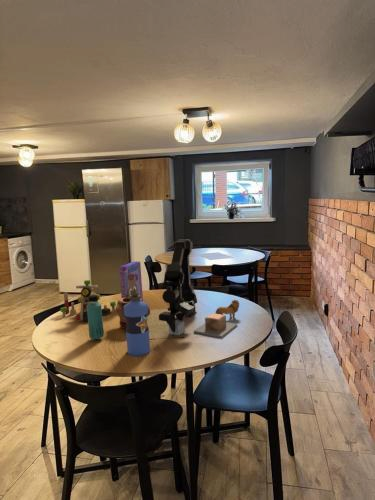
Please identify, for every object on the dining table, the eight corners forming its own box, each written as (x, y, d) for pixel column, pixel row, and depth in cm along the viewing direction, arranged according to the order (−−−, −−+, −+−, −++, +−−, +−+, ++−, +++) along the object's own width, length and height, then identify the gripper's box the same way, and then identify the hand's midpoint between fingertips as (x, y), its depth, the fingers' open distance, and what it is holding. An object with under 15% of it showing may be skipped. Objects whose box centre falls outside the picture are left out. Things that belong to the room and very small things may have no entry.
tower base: (193, 332, 153) (193, 319, 152) (210, 321, 166) (210, 309, 166) (221, 338, 146) (221, 324, 145) (237, 325, 159) (236, 312, 158)
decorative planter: (158, 324, 165) (156, 297, 164) (145, 334, 154) (143, 304, 153) (123, 320, 174) (121, 294, 172) (109, 329, 163) (106, 301, 161)
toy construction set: (50, 321, 179) (46, 282, 176) (76, 308, 200) (73, 273, 198) (95, 324, 171) (91, 284, 168) (117, 310, 192) (114, 274, 189)
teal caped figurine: (96, 343, 146) (92, 298, 144) (86, 340, 150) (81, 296, 147) (107, 338, 152) (104, 294, 149) (97, 335, 155) (93, 293, 153)
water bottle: (122, 353, 135) (117, 292, 132) (138, 344, 143) (133, 286, 140) (139, 358, 130) (135, 294, 127) (155, 349, 138) (151, 288, 134)
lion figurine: (236, 315, 174) (235, 298, 173) (242, 318, 169) (241, 300, 168) (211, 320, 168) (210, 303, 167) (216, 323, 163) (215, 305, 162)
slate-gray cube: (169, 333, 154) (168, 323, 153) (175, 330, 158) (175, 319, 157) (178, 335, 151) (178, 324, 150) (184, 331, 155) (184, 321, 154)
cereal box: (129, 308, 195) (126, 266, 191) (122, 307, 196) (119, 266, 193) (142, 299, 211) (140, 261, 208) (135, 299, 212) (133, 261, 209)
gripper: (178, 304, 140) (180, 340, 142) (201, 293, 155) (202, 326, 158) (156, 301, 146) (159, 336, 148) (180, 290, 161) (182, 322, 164)
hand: (177, 330), depth 154 cm, fingers closed on slate-gray cube, 5 cm apart
